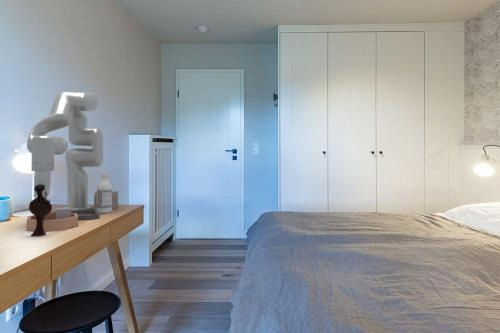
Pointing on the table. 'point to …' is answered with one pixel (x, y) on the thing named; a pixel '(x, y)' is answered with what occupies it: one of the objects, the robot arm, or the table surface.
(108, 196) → the bath foam
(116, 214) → the table surface
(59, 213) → the grey sharp-edged cuboid
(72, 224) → the bowl
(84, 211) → the tray
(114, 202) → the fossil
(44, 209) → the figurine
